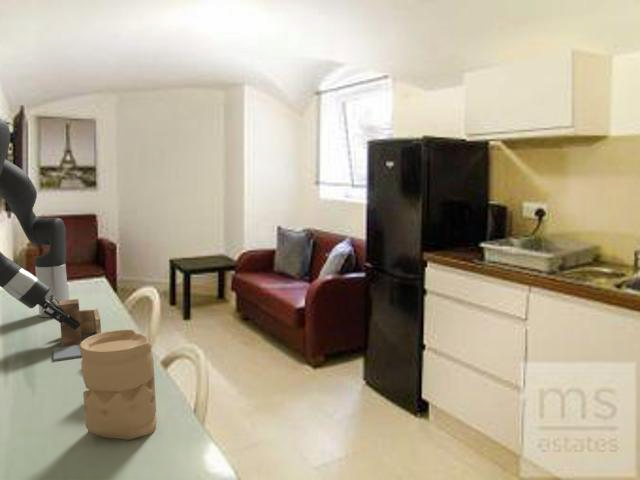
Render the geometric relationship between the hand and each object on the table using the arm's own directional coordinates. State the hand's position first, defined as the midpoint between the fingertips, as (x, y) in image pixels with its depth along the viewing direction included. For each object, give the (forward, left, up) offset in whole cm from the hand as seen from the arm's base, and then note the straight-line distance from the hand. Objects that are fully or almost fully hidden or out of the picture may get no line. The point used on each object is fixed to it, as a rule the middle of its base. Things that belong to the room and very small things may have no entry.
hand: (77, 324), depth 148 cm
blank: (+1, -2, -5) cm, 6 cm away
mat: (+9, +3, -5) cm, 11 cm away
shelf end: (-3, 0, -5) cm, 6 cm away
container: (+49, +35, -5) cm, 61 cm away
